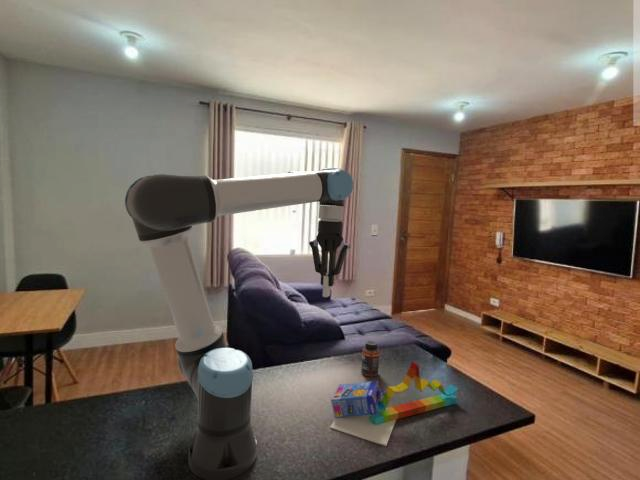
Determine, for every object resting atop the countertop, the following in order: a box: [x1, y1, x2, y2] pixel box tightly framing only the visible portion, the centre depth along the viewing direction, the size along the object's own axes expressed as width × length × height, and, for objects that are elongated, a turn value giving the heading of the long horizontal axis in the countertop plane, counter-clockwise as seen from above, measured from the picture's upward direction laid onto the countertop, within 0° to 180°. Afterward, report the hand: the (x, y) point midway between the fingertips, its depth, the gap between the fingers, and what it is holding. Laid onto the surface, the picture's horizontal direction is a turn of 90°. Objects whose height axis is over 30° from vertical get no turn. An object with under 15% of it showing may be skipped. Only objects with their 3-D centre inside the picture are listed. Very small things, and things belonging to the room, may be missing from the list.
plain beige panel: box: [329, 415, 397, 447], centre depth 97 cm, size 15×16×1 cm
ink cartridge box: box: [330, 380, 386, 419], centre depth 99 cm, size 10×6×14 cm
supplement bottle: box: [360, 340, 380, 377], centre depth 124 cm, size 6×6×11 cm
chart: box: [369, 361, 459, 425], centre depth 101 cm, size 30×3×15 cm, turn 117°
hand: (326, 295), depth 109 cm, fingers closed
